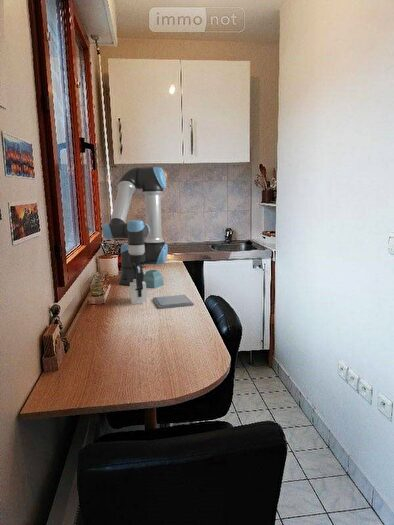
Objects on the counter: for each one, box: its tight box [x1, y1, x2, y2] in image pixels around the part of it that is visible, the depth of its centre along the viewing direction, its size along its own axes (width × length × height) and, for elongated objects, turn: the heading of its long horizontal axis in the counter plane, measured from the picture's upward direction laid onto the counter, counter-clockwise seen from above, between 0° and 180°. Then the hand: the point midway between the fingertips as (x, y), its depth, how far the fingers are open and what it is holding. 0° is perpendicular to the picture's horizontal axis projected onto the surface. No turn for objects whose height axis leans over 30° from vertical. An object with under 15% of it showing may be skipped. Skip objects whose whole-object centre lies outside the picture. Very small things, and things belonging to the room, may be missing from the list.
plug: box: [129, 279, 148, 305], centre depth 179 cm, size 5×7×11 cm
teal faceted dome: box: [143, 269, 164, 290], centre depth 209 cm, size 9×9×9 cm
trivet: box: [152, 294, 194, 310], centre depth 177 cm, size 16×16×1 cm
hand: (138, 300), depth 180 cm, fingers open, 8 cm apart
